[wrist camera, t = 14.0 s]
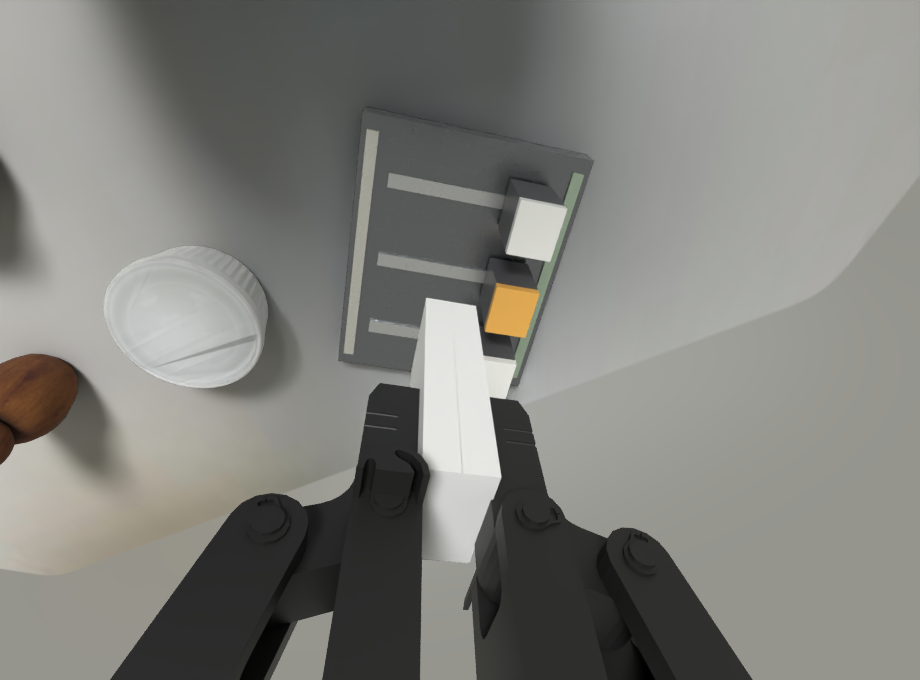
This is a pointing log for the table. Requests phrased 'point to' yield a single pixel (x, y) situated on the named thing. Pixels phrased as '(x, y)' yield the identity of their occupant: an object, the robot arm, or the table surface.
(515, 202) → the block
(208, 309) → the ramekin
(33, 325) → the table surface
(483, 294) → the block
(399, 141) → the panel
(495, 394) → the breaker far
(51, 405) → the wooden figurine
